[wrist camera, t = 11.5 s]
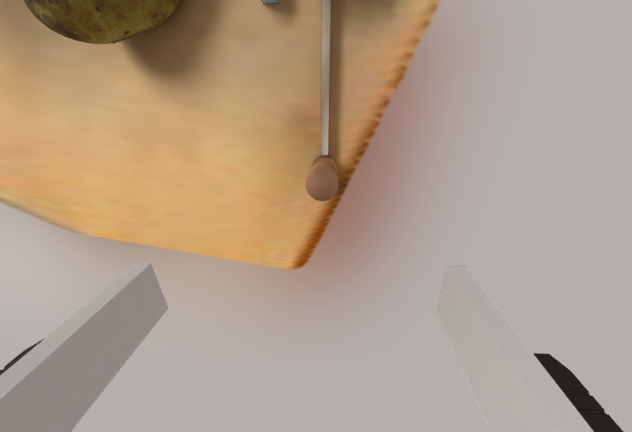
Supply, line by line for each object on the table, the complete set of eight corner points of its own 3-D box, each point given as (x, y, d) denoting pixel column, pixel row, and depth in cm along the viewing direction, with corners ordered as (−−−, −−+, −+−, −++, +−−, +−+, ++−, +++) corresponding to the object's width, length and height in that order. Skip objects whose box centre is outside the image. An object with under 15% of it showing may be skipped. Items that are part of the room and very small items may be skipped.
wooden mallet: (305, 180, 32) (297, 200, 25) (298, -105, 21) (283, -193, 15) (344, 180, 31) (346, 201, 25) (358, -109, 21) (368, -200, 14)
